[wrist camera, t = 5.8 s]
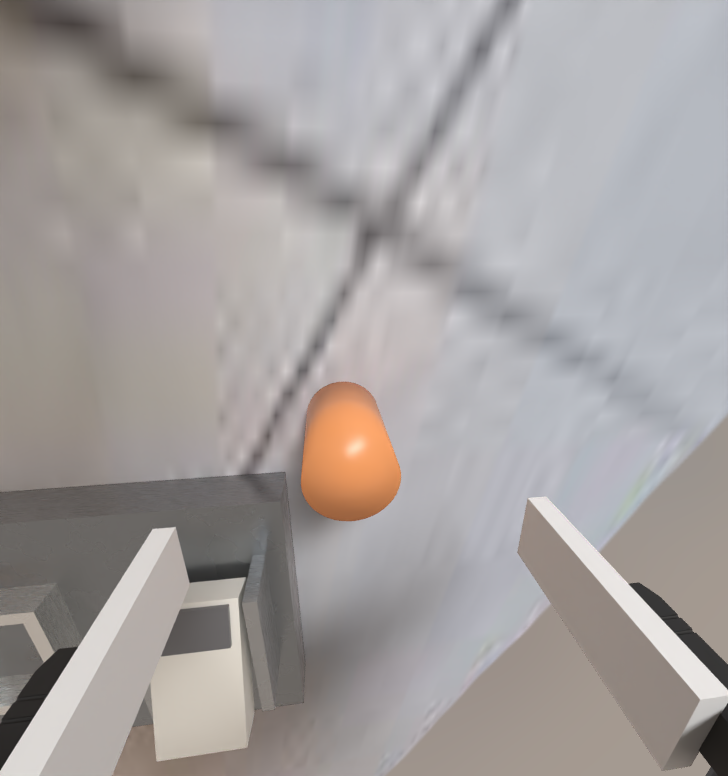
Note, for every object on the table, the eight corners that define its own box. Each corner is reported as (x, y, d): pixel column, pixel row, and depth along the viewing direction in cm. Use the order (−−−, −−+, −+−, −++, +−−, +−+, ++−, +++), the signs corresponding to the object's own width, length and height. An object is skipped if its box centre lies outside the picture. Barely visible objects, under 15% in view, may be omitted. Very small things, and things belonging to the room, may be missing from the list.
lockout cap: (304, 383, 21) (297, 440, 15) (378, 380, 22) (402, 434, 15) (309, 448, 23) (304, 525, 16) (377, 443, 23) (399, 516, 17)
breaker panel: (-120, 500, 21) (-287, 595, 15) (285, 472, 23) (273, 543, 18) (7, 700, 28) (-74, 814, 22) (305, 662, 31) (301, 756, 25)
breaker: (161, 585, 21) (142, 610, 19) (246, 577, 22) (236, 600, 19) (172, 725, 22) (154, 766, 19) (254, 713, 22) (246, 752, 20)
